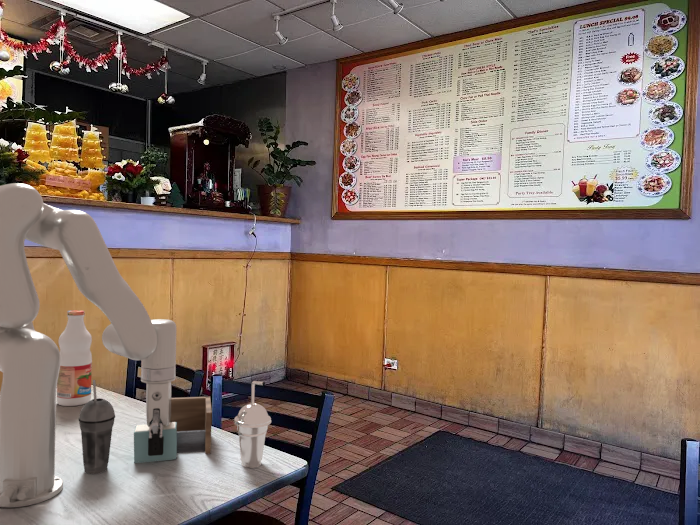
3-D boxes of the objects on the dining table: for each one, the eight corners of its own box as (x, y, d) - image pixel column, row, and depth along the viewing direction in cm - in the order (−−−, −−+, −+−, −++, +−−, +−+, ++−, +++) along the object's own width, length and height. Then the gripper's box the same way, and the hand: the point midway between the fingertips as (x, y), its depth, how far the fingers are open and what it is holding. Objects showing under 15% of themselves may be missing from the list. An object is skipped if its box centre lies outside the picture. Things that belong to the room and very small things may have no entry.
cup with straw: (269, 456, 130) (272, 372, 129) (270, 472, 121) (273, 382, 120) (233, 457, 128) (235, 372, 128) (231, 473, 119) (233, 382, 119)
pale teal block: (176, 459, 125) (175, 428, 125) (134, 463, 123) (133, 432, 123) (176, 451, 130) (176, 421, 130) (136, 455, 128) (136, 424, 127)
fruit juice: (61, 398, 171) (63, 309, 170) (94, 397, 173) (96, 309, 172) (52, 407, 161) (54, 312, 161) (87, 406, 164) (89, 313, 163)
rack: (210, 454, 130) (211, 412, 129) (162, 457, 127) (164, 414, 127) (209, 434, 143) (210, 396, 143) (166, 436, 140) (167, 398, 140)
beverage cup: (121, 466, 121) (123, 376, 120) (98, 479, 114) (100, 384, 113) (93, 462, 123) (96, 373, 122) (69, 474, 116) (71, 380, 115)
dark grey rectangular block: (205, 451, 131) (205, 435, 131) (172, 454, 129) (172, 437, 129) (204, 445, 135) (205, 429, 135) (173, 447, 133) (173, 431, 133)
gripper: (174, 382, 119) (172, 460, 119) (176, 364, 135) (175, 433, 136) (137, 383, 117) (135, 463, 117) (144, 365, 133) (143, 435, 134)
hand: (157, 447), depth 126 cm, fingers open, 9 cm apart
